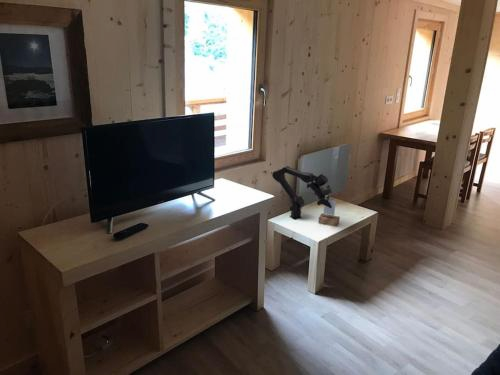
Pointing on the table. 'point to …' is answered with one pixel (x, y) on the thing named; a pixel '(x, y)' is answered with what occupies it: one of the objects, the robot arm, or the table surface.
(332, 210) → the cover plate
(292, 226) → the table surface
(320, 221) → the slotted case
